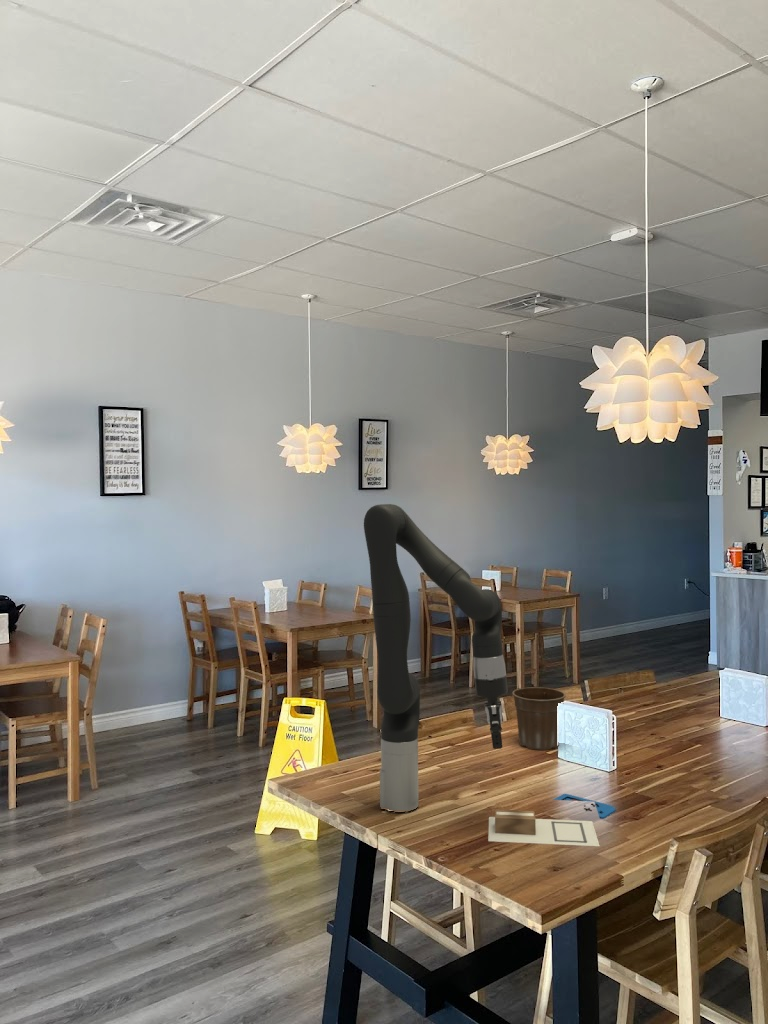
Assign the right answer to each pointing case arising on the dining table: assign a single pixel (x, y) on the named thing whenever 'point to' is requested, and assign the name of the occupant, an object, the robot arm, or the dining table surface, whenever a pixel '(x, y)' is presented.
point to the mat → (551, 833)
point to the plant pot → (537, 716)
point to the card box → (515, 822)
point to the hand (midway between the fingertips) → (496, 743)
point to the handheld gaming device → (602, 808)
